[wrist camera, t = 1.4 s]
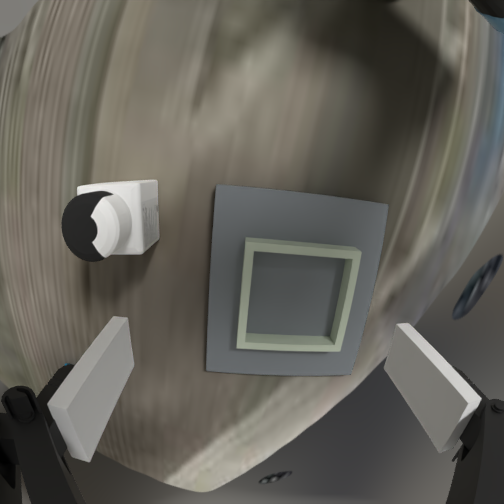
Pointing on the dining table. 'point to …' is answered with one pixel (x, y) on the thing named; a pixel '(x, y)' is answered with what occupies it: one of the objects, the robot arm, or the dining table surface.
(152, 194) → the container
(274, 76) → the dining table surface
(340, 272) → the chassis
